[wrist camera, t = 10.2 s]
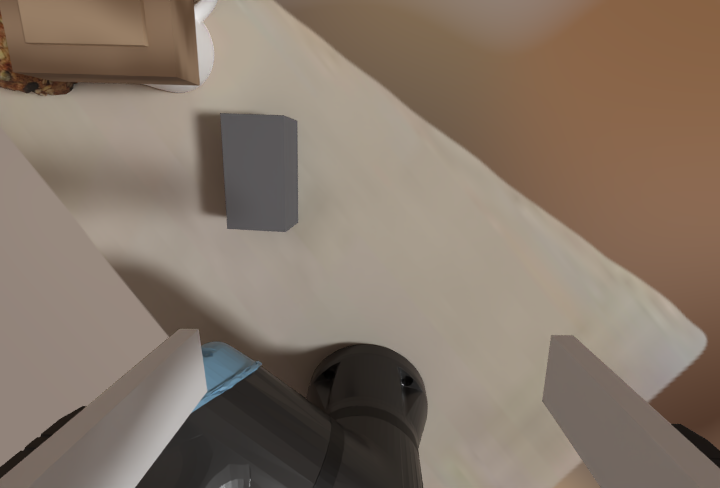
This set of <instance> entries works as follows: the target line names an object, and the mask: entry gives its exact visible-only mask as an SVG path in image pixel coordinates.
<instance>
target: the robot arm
mask: <svg viewBox="0 0 720 488" xmlns="http://www.w3.org/2000/svg"><path fill="white" fill-rule="evenodd" d="M261 365H262V363H261V362H259V361H254V360H252V359H250V358H249V357H247V356H246V355H244V354H243V353H241V352H239V351H238V350H236V349H235V348H233V347H232V346H230V345H228V344H226V343H223V342H218V341H217V342H209V343H206V344H204V345H202V346H201V342H200V335H199V329H179V330H177V331H176V332H175V333H174V334H173V335H171V336H170V337H169V338H168V339H167V340H165V341H164V342H163V343H162V344H161V345H159V346H158V347H157V348H156V349H155V350H153V352H151V353H150V354H149V355H147V356H146V357H145V358H144V359H143V360H142V361H140V362H139V363H138V364H137V365H135V366H134V367H133V368H132V369H131V370H130V371H128V372H127V373H126V374H125V375H124V376H122V377H121V378H120V379H119V380H118V381H116V382H115V383H114V384H113V385H112V386H110V387H109V388H108V389H107V390H106V391H104V392H103V393H102V394H101V395H100V396H98V397H97V398H96V399H95V400H94V401H93V402H91V403H90V404H89V405H88V406H82V407H80V408H79V409H77V410H75V411H73V412H72V413H70V414H68V415H67V416H64V417H63V418H61V419H59V420H58V421H57V422H56V423H54V424H53V425H52V426H51V427H49V428H48V429H47V430H46V431H44V432H43V433H42V434H41V437H37V438H36V439H35V440H33V441H32V442H31V443H30V444H29V445H27V446H26V447H25V449H24V451H20V452H19V453H17V454H16V455H15V456H13V457H12V458H11V459H10V460H9V461H7V462H6V463H5V464H4V465H2V466H1V467H0V488H423V482H422V475H421V467H420V460H419V452H418V448H419V444H420V440H421V437H422V433H423V430H424V426H425V423H426V419H427V410H428V404H427V397H426V391H425V386H424V383H423V380H422V378H421V376H420V374H419V372H418V371H417V370H416V368H415V367H414V366H413V365H412V364H411V363H410V362H409V361H408V360H407V359H406V358H404V357H403V356H401V355H400V354H398V353H396V352H394V351H392V350H390V349H387V348H384V347H380V346H375V345H355V346H350V347H346V348H343V349H340V350H338V351H336V352H334V353H332V354H331V355H329V356H328V357H327V358H326V359H324V360H323V361H322V362H321V364H320V365H319V366H318V367H317V369H316V370H315V372H314V374H313V377H312V380H311V383H310V386H309V389H308V393H307V399H306V398H304V397H303V396H302V395H300V394H299V393H297V392H296V391H295V390H293V389H292V388H290V387H289V386H288V385H286V384H285V383H283V382H282V381H281V380H279V379H278V378H276V377H275V376H274V375H272V374H271V373H270V372H268V371H267V370H265V369H264V368H263V367H261ZM542 401H543V403H544V404H545V405H546V407H547V408H548V410H549V411H550V413H551V414H552V416H553V417H554V419H555V420H556V422H557V423H558V425H559V426H560V428H561V429H562V431H563V432H564V434H565V435H566V437H567V438H568V440H569V441H570V443H571V444H572V446H573V447H574V449H575V450H576V451H577V453H578V454H579V456H580V457H581V459H582V460H583V462H584V463H585V465H586V466H587V468H588V469H589V471H590V472H591V474H592V475H593V477H594V478H595V480H596V481H597V483H598V484H599V486H600V487H601V488H720V451H719V450H718V449H717V448H716V447H715V446H713V444H711V443H710V442H709V441H708V440H706V439H705V438H703V437H701V436H699V435H698V434H696V433H695V432H693V431H691V430H690V429H688V428H686V427H685V426H683V425H681V424H670V423H669V422H668V421H667V420H666V419H665V418H664V417H662V416H661V415H660V414H659V413H658V412H657V411H656V410H655V409H654V408H653V407H651V406H650V405H649V404H648V403H647V402H646V401H645V400H644V399H643V398H642V397H640V396H639V395H638V394H637V393H636V392H635V391H634V390H633V389H632V388H631V387H629V386H628V385H627V384H626V383H625V382H624V381H623V380H622V379H621V378H619V377H618V376H617V375H616V374H615V373H614V372H613V371H612V370H611V369H610V368H608V367H607V366H606V365H605V364H604V363H603V362H602V361H601V360H600V359H599V358H597V357H596V356H595V355H594V354H593V353H592V352H591V351H590V350H589V349H588V348H586V347H585V346H584V345H583V344H582V343H581V342H580V341H579V340H578V339H577V338H575V337H574V336H572V335H551V341H550V348H549V355H548V363H547V370H546V378H545V385H544V392H543V400H542Z"/></svg>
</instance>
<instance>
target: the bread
mask: <svg viewBox="0 0 720 488" xmlns="http://www.w3.org/2000/svg"><path fill="white" fill-rule="evenodd" d="M76 83H78V82H62V81H50V80H46V79H41V78H37V77H32V76H28V75H23V74H19V73H14V72H13V70H12V65H11V60H10V55H9V50H8V45H7V40H6V35H5V30H4V26H3V21H2V16H1V11H0V87H2V88H6V89H10V90H14V91H15V90H19V91H22V92H25V93H29V92H31V91H32V92H34V93H36V94H39V95H43V96H47V94H50V95H53V94H54V95H59V94H67V93H68V92H70V91H71V90H72V89H73V84H76Z"/></svg>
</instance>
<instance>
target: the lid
mask: <svg viewBox="0 0 720 488" xmlns="http://www.w3.org/2000/svg"><path fill="white" fill-rule="evenodd" d="M0 11H1V16H2V21H3V26H4V30H5V35H6V40H7V45H8V50H9V55H10V60H11V65H12V70H13V72H14V73H19V74H23V75H28V76H32V77H37V78H41V79H46V80H50V81H62V82H95V83H128V84H161V85H194V86H200V79H199V66H198V53H197V40H196V26H195V13H194V0H0Z"/></svg>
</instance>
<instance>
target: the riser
mask: <svg viewBox="0 0 720 488" xmlns="http://www.w3.org/2000/svg"><path fill="white" fill-rule="evenodd" d="M220 117H221V133H222V150H223V166H224V182H225V198H226V214H227V229H241V230H259V231H277V232H286V231H287V230H289V229H290V228H291V227H293V226H294V225H295V224H297V223H298V159H297V121H296V120H294V119H291V118H289V117H286V116H284V115H256V114H228V113H220Z"/></svg>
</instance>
